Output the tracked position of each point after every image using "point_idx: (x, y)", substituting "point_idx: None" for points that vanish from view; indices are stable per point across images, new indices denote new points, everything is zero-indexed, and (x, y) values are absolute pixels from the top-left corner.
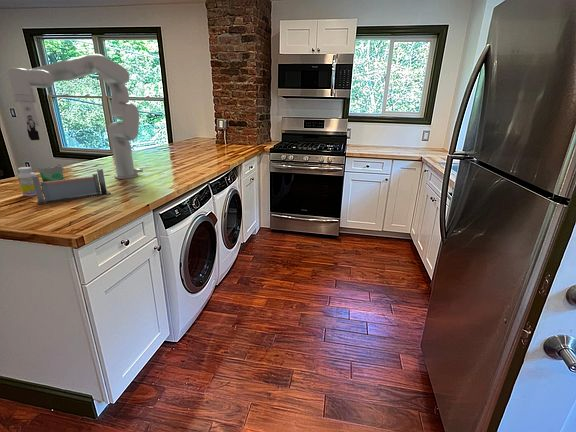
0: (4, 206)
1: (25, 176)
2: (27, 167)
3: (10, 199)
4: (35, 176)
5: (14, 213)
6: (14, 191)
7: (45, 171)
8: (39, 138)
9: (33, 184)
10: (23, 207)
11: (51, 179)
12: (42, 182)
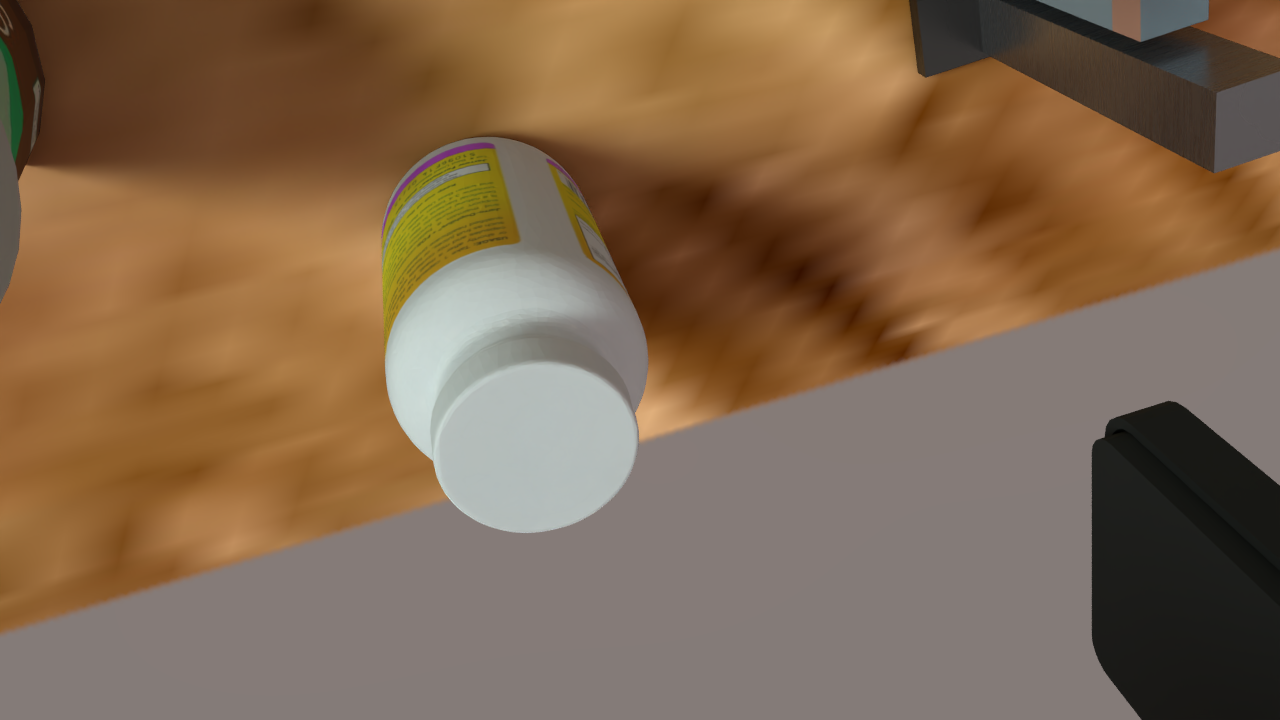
0: (936, 352)
1: (646, 358)
2: (507, 420)
3: (662, 387)
4: (1271, 107)
5: (1249, 190)
6: (250, 469)
7: (6, 189)
8: (1198, 426)
9: (591, 227)
10: (1079, 166)
11: (1, 69)
12: (1175, 5)
